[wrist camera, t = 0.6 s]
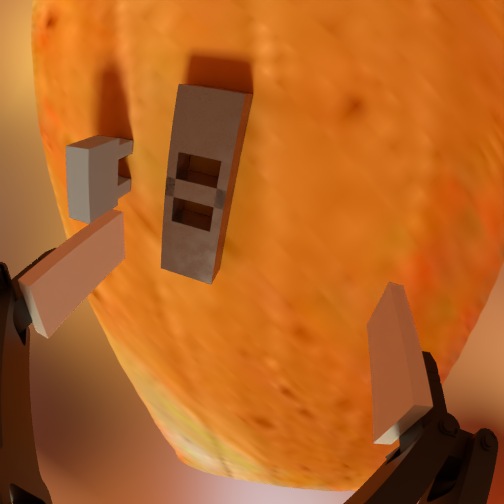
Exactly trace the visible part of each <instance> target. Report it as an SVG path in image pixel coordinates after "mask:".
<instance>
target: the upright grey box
mask: <svg viewBox="0 0 504 504" xmlns="http://www.w3.org/2000/svg"><path fill="white" fill-rule="evenodd" d="M132 149H133V140H128V139H121V138H115V137H107V136H100V135H97V136H93V137H90V138H87V139H84V140H81V141H79V142H76V143H73V144H70V145H67V146H66V171H67V192H68V207H69V217H70V218H73V219H76V220H79V221H82V222H85V223H88V224H90V223H92V222H93V221H94V220H96V219H97V218H99V217H100V216H102V215H103V214H105V213H106V212H107V211H109V210H110V209H113V208H114V207H116V206H117V205H118V199H119V198H120V197H122V196H123V195H125V194H126V193H128V192H130V186H131V179H129V178H125V177H121V176H118V159H121V158H123V157H125V156H127V155H130V154H132Z"/></svg>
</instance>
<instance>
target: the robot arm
mask: <svg viewBox="0 0 504 504" xmlns="http://www.w3.org/2000/svg"><path fill="white" fill-rule="evenodd" d="M124 259H125V248H124V226H123V212H121V211H117V210H113V209H110V210H109V211H107V212H106V213H105V214H103V215H102V216H100V217H99V218H97V219H96V220H94V221H93V222H92V223H90V224H89V225H87V226H86V227H85V228H83V229H82V230H80V231H79V232H78V233H76V234H75V235H74V236H72V237H71V238H70V239H68V240H67V241H66V242H64V243H63V244H62V245H60V246H59V247H58V248H54V249H51V250H49V251H47V252H45V253H44V254H42V255H41V256H40V257H39V258H38V260H37V259H36V260H35V261H34V262H32V264H30V265H29V266H27V267H26V268H25V269H24V270H23V271H21V272H20V273H19V274H18V275H17V276H15V277H14V278H13V279H12V280H11V277H10V274H9V271H8V268H7V265H6V264H5V263H3V262H0V504H12V503H13V504H52V501H51V497H50V494H49V491H48V489H47V487H46V485H45V483H44V482H43V480H42V478H41V476H40V472H39V467H38V461H37V455H36V449H35V443H34V435H33V426H32V417H31V403H30V384H29V383H30V382H29V346H30V343H29V342H30V329H29V327H28V326H29V325H30V323H32V322H33V324H34V326H35V329H36V332H38V333H40V334H41V335H43V336H45V337H46V338H49V337H50V336H51V335H52V334H53V333H54V332H55V331H56V329H57V328H58V327H59V326H60V325H61V324H62V323H63V322H64V321H65V319H66V318H67V317H68V316H69V315H70V314H71V313H72V312H73V311H74V310H75V309H76V308H77V306H78V305H79V304H80V303H81V302H82V301H83V300H84V299H85V298H86V297H87V296H88V295H89V294H90V293H91V292H92V291H93V290H94V289H95V288H96V287H97V286H98V285H99V284H100V283H101V282H102V280H103V279H104V278H105V277H106V276H107V275H108V274H109V273H110V272H111V271H112V270H113V269H114V268H115V267H116V266H118V265H119V264H120V263H121V262H122V261H123V260H124ZM367 333H368V343H369V354H370V367H371V383H372V404H373V443H378V444H392V443H393V442H394V441H396V440H397V439H398V438H399V441H400V446H399V447H398V448H397V449H395V450H394V451H393V452H391V453H390V454H389V455H387V456H386V458H388V459H387V460H386V461H385V462H384V463H383V464H382V465H381V466H380V468H379V469H378V470H377V471H376V472H375V473H374V474H373V475H372V476H371V477H370V478H369V479H368V480H367V481H366V482H365V483H364V484H363V485H362V486H361V487H360V488H359V489H358V490H357V491H356V492H355V493H354V494H353V495H352V496H351V497H350V498H349V499H348V500H347V501H346V502H345V503H344V504H417V502H418V501H419V500H420V501H419V503H418V504H486V503H487V499H488V495H489V491H490V487H491V483H492V478H493V473H494V469H495V464H496V458H497V452H498V441H497V437H496V436H495V434H494V433H493V432H492V431H491V430H490V429H486V428H483V429H480V430H479V431H478V432H477V433H475V434H472V433H469V432H466V431H464V430H461V429H460V426H459V423H458V421H457V420H456V419H455V417H454V416H452V415H451V414H449V413H447V409H446V404H445V399H444V394H443V390H442V385H441V383H440V377H439V375H438V369H437V365H436V362H435V360H434V359H433V357H432V355H431V354H430V352H424V351H421V347H420V343H419V339H418V335H417V331H416V327H415V324H414V320H413V317H412V313H411V310H410V306H409V303H408V300H407V296H406V293H405V290H404V287H403V285H399V284H395V283H392V282H389V283H388V285H387V287H386V289H385V291H384V293H383V295H382V297H381V299H380V301H379V303H378V305H377V307H376V309H375V310H374V312H373V314H372V316H371V318H370V320H369V322H368V323H367ZM420 498H421V499H420Z"/></svg>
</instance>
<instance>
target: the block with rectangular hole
mask: <svg viewBox="0 0 504 504" xmlns="http://www.w3.org/2000/svg"><path fill="white" fill-rule="evenodd" d="M252 98H253V94H251V93H246V92H240V91H235V90H229V89H223V88H217V87H210V86H203V85H195V84H179V86H178V92H177V98H176V105H175V111H174V118H173V126H172V133H171V141H170V150H169V159H168V168H167V179H166V190H165V202H164V216H163V232H162V253H161V268H162V269H165V270H168V271H171V272H174V273H177V274H180V275H184V276H187V277H190V278H193V279H196V280H199V281H202V282H205V283H208V284H212V282H213V280H214V279H215V277H216V275H217V273H218V271H219V270H220V264H221V258H222V253H223V247H224V241H225V236H226V230H227V225H228V219H229V214H230V208H231V203H232V197H233V192H234V187H235V182H236V177H237V171H238V166H239V161H240V156H241V151H242V146H243V141H244V136H245V131H246V126H247V122H248V117H249V112H250V107H251V103H252ZM190 154H191V155H196V156H201V157H205V158H210V159H214V160H218V161H221V166H220V172H219V177H215V176H210V175H206V174H202V173H198V172H193V171H189V170H188V168H189V161H190ZM185 200H188V201H191V202H195V203H199V204H203V205H207V206H210V207H214V209H213V215H212V217H209V216H205V215H201V214H198V213H194V212H190V211H187V210H184V201H185Z"/></svg>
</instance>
